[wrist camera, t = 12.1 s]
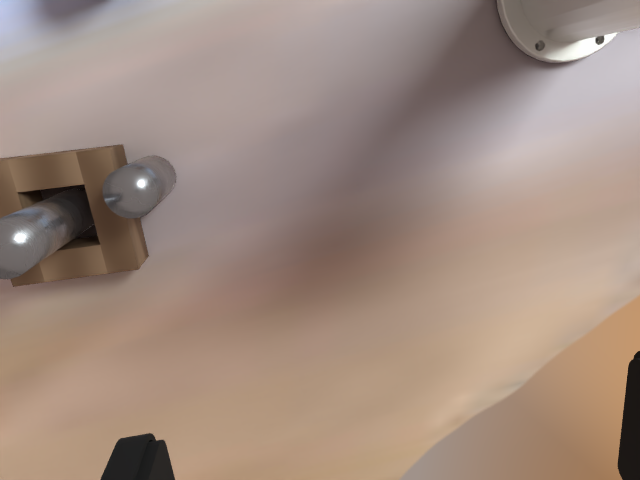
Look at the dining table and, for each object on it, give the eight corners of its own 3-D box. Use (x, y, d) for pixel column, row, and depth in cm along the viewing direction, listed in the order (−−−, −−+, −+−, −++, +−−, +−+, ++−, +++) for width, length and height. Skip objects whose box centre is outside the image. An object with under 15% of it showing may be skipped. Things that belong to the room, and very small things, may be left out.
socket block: (122, 144, 38) (109, 148, 35) (148, 256, 41) (138, 269, 38) (-2, 158, 37) (-28, 163, 34) (33, 271, 40) (13, 286, 37)
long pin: (93, 186, 39) (23, 219, 27) (104, 226, 40) (40, 274, 28) (50, 191, 38) (-41, 227, 27) (61, 231, 39) (-21, 283, 28)
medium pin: (171, 153, 39) (150, 164, 31) (180, 194, 40) (162, 214, 32) (128, 158, 38) (96, 171, 31) (138, 200, 39) (109, 221, 32)
